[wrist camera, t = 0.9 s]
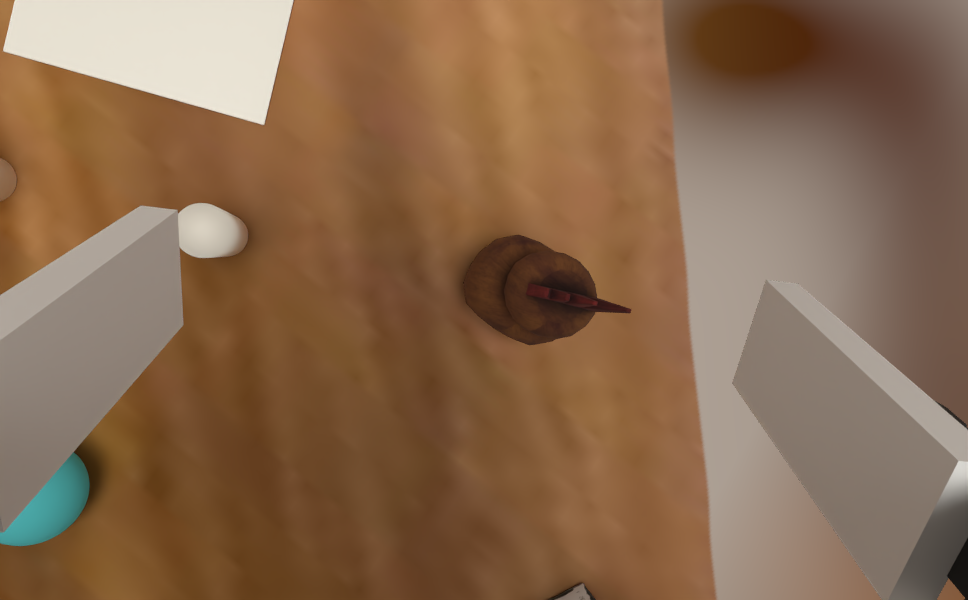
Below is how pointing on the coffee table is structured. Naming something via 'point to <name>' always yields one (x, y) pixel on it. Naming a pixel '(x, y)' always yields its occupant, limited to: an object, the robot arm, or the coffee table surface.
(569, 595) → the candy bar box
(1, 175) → the post
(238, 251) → the post
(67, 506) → the ball
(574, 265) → the wooden figurine
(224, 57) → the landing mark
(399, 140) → the coffee table surface
